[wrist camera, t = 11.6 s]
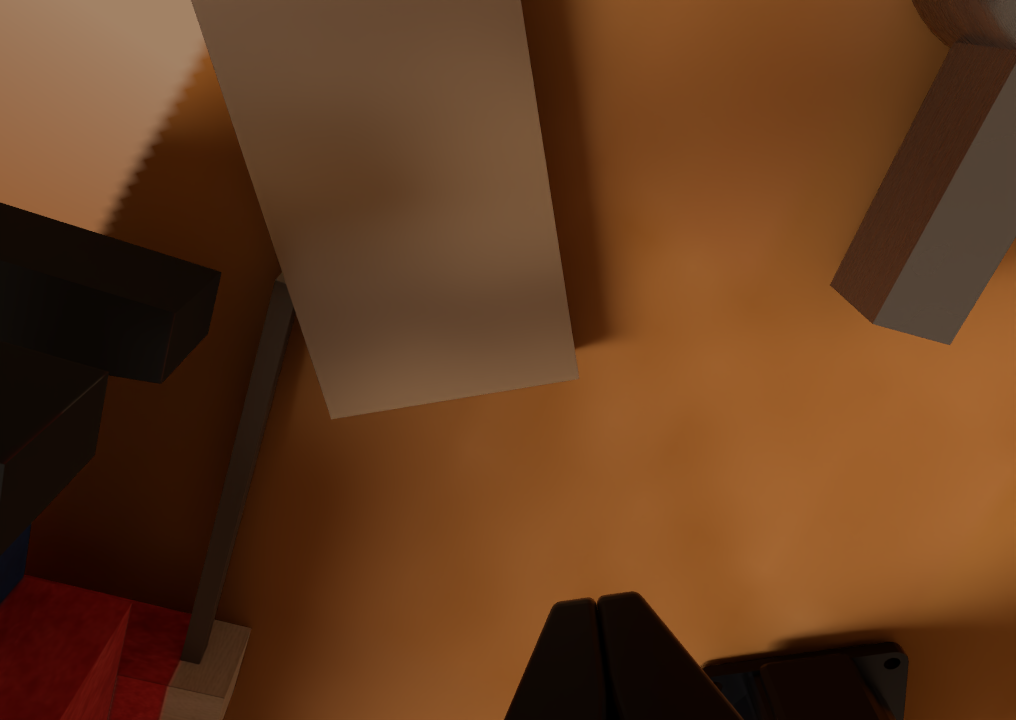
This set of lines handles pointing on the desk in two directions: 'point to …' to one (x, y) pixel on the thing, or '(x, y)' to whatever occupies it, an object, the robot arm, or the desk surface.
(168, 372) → the toy soldier
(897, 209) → the capstan
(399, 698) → the desk surface
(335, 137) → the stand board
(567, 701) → the robot arm
